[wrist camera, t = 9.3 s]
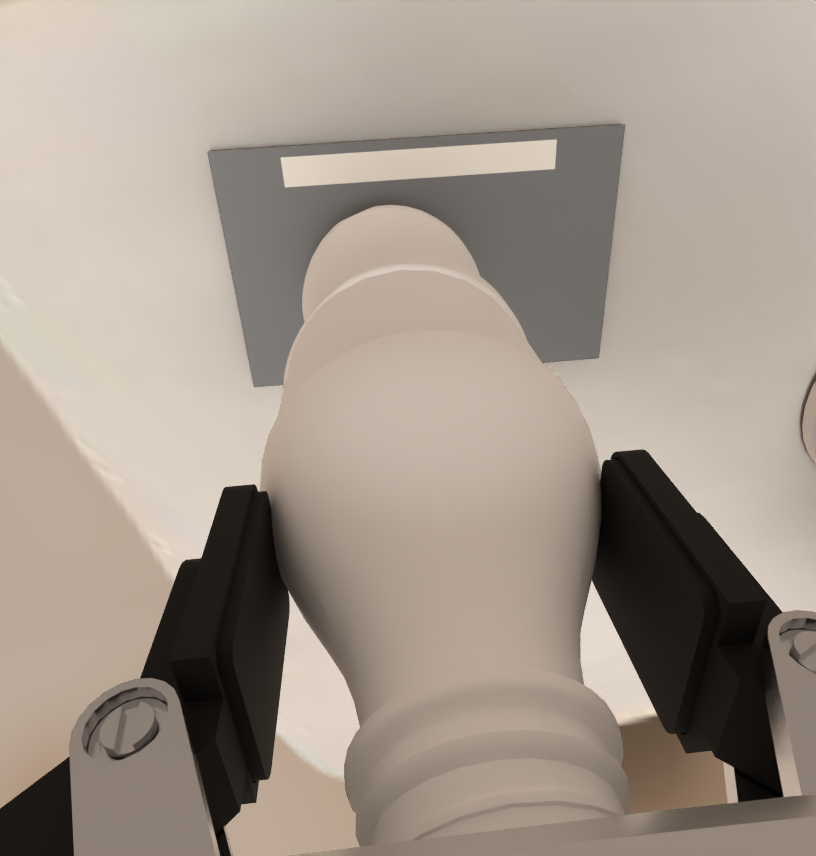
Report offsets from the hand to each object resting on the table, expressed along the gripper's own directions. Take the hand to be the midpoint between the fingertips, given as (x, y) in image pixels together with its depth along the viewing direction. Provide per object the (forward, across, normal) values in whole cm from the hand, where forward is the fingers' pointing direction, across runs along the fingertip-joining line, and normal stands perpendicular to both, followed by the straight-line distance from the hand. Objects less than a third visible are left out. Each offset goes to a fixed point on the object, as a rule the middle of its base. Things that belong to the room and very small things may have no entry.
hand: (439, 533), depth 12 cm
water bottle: (+18, 0, 0) cm, 18 cm away
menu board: (+20, -2, 0) cm, 20 cm away
